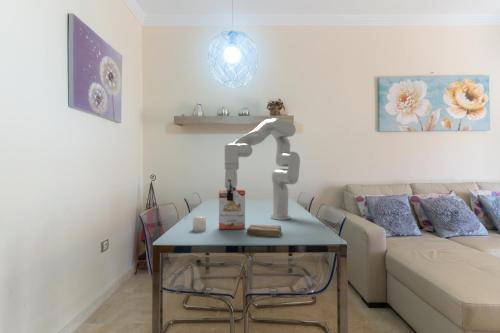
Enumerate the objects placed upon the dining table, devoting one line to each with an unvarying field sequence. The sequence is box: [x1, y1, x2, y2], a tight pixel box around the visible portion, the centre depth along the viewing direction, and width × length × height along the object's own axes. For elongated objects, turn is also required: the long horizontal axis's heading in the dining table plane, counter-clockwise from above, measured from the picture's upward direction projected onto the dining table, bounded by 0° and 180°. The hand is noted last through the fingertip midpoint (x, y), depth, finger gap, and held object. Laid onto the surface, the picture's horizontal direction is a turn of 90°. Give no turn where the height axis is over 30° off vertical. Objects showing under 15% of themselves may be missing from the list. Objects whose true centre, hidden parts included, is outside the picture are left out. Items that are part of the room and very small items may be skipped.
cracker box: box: [218, 189, 246, 230], centre depth 163 cm, size 14×6×21 cm, turn 97°
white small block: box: [192, 215, 207, 232], centre depth 160 cm, size 7×7×7 cm
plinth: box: [246, 224, 282, 238], centre depth 153 cm, size 11×16×3 cm
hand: (231, 199), depth 163 cm, fingers closed on cracker box, 7 cm apart
